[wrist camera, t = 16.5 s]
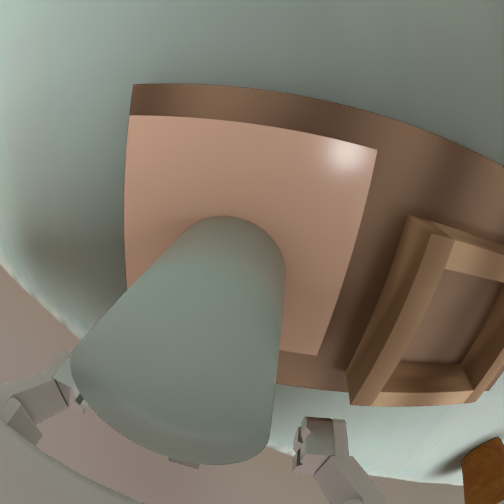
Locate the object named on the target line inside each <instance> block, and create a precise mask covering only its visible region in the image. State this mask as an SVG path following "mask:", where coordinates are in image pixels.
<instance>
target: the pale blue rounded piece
mask: <svg viewBox="0 0 504 504" xmlns="http://www.w3.org/2000/svg"><path fill="white" fill-rule="evenodd" d="M285 280H286V268H285V262H284V259H283V256H282V253H281V251H280V249H279V247H278V246H277V244H276V243H275V241H274V240H273V239H272V238H271V237H270V236H269V235H268V234H267V233H266V232H265V231H264V230H263V229H261V228H260V227H258V226H257V225H255V224H253V223H251V222H249V221H246V220H244V219H241V218H236V217H230V216H216V217H210V218H207V219H204V220H201V221H199V222H197V223H195V224H194V225H192V226H191V227H190V228H188V229H187V230H186V231H185V232H184V233H183V234H182V235H181V236H180V237H179V238H178V239H177V240H176V241H175V242H174V243H173V244H172V245H171V246H170V247H169V248H168V249H167V250H166V251H165V252H164V253H163V254H162V255H161V256H160V257H159V258H158V259H157V260H156V261H155V262H154V263H153V264H152V265H151V266H150V267H149V268H148V269H147V270H146V271H145V272H144V273H143V274H142V275H141V276H140V277H139V278H138V279H137V280H136V281H135V282H134V283H133V284H132V285H131V287H130V288H129V289H128V290H127V291H126V292H125V293H124V294H123V295H122V296H121V297H120V298H119V299H118V300H117V301H116V302H115V304H114V305H113V306H112V307H111V308H110V309H109V310H108V311H107V312H106V313H105V314H104V316H103V317H102V318H101V319H100V320H99V321H98V322H97V323H96V324H95V326H94V327H93V328H92V329H91V330H90V331H89V332H88V334H87V335H86V336H85V337H84V338H83V339H82V340H81V342H80V343H79V344H78V345H77V346H76V347H75V349H74V351H73V352H72V355H71V360H70V369H71V373H72V377H73V380H74V383H75V385H76V387H77V389H78V391H79V392H80V394H81V395H82V397H83V398H84V400H85V401H86V402H87V404H88V405H89V406H90V407H91V408H92V410H93V411H94V412H95V413H97V415H98V416H99V417H100V418H101V419H102V420H103V421H105V422H106V423H107V424H108V425H110V426H111V427H112V428H113V429H115V430H116V431H117V432H119V433H120V434H121V435H123V436H125V437H126V438H128V439H129V440H131V441H133V442H135V443H136V444H138V445H140V446H142V447H144V448H146V449H148V450H151V451H153V452H155V453H158V454H161V455H163V456H166V457H168V458H169V461H172V462H175V463H178V464H182V465H185V466H189V467H193V468H197V469H198V468H199V465H200V464H206V465H226V464H233V463H239V462H242V461H246V460H248V459H250V458H253V457H254V456H256V455H257V454H259V453H260V452H261V451H262V450H263V449H264V448H265V446H266V445H267V443H268V440H269V435H270V427H271V419H272V411H273V403H274V395H275V386H276V377H277V368H278V358H279V348H280V338H281V327H282V316H283V305H284V293H285Z"/></svg>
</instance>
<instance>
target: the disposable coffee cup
mask: <svg viewBox="0 0 504 504" xmlns="http://www.w3.org/2000/svg"><path fill="white" fill-rule="evenodd" d="M461 465H462V474H463V484H464V497H465V504H504V445H503V443H502V441H501V439H500V438H495V439H492V440H490V441H487V442H486V443H484V444H482V445H480V446H479V447H477V448H476V449H474V450H473V451H471V452H470V453H469V454H467V455H466V456H465V457H464V458H463V459H462V461H461Z"/></svg>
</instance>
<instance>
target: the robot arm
mask: <svg viewBox="0 0 504 504" xmlns="http://www.w3.org/2000/svg"><path fill="white" fill-rule="evenodd" d="M71 355H72V352H71V351H68V350H63V351H61V353H60V354H59V355H58V356H57V357H56V358H55V359H54V361H53V362H52V363H51V364H50V365H49V366H48V368H47V369H46V370H45V371H44V372H43V373H42V372H38V373H35V374H33V375H29V376H27V377H24V378H21V379H18V380H15V381H12V382H9V383H6V384H3V385H0V504H147V503H145V502H142V501H139V500H137V499H134V498H131V497H129V496H127V495H124V494H122V493H119V492H117V491H115V490H113V489H111V488H108V487H106V486H104V485H102V484H100V483H98V482H96V481H94V480H92V479H90V478H88V477H86V476H84V475H82V474H80V473H78V472H77V471H75V470H73V469H71V468H69V467H68V466H66V465H64V464H63V463H61V462H60V461H58V460H56V459H55V458H53V457H52V456H50V455H48V454H47V453H45V452H44V451H42V450H41V449H39V448H38V447H36V445H37V443H38V441H39V440H40V439H41V437H42V433H41V431H40V430H39V429H38V427H37V426H36V425H37V424H39V423H41V422H42V421H44V420H46V419H48V418H50V417H52V416H54V415H55V414H57V413H59V412H61V411H63V410H65V409H66V408H68V407H70V408H72V409H74V410H76V411H78V412H80V413H82V414H85V412H86V411H87V409H88V407H89V405H88V404H87V402H86V401H85V400H84V398H83V397H82V395H81V394H80V392H79V391H78V389H77V387H76V385H75V383H74V380H73V377H72V373H71V369H70V360H71ZM293 449H294V450H295V452H296V454H295V456H294V457H293V461H292V473H299V474H310V475H313V476H314V478H315V480H316V481H317V483H318V485H319V486H320V488H321V490H322V491H323V493H324V495H325V496H326V498H327V500H328V501H329V503H330V504H387V503H386V496H385V494H384V493H383V492H382V491H381V490H380V489H379V488H378V486H377V485H376V484H375V483H374V482H373V480H372V479H371V478H370V477H369V476H368V474H367V473H366V472H365V471H364V470H363V468H362V467H361V466H360V465H359V464H358V462H357V461H356V460H355V459H354V457H353V456H349V450H348V438H347V428H346V422H345V420H342V419H330V418H315V417H304V418H303V420H302V426H301V427H298V429H297V431H296V435H295V438H294V446H293Z"/></svg>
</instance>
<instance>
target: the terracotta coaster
mask: <svg viewBox="0 0 504 504" xmlns="http://www.w3.org/2000/svg"><path fill="white" fill-rule="evenodd" d="M376 155H377V150H376V149H372V148H369V147H365V146H361V145H357V144H354V143H350V142H346V141H341V140H337V139H333V138H329V137H324V136H319V135H315V134H310V133H305V132H300V131H294V130H289V129H283V128H277V127H271V126H264V125H258V124H251V123H243V122H235V121H226V120H216V119H205V118H192V117H175V116H143V115H129V125H128V135H127V147H126V162H125V185H124V243H125V265H126V281H127V290H128V289H129V288H130V287H131V285H132V284H133V283H134V282H135V281H136V280H137V279H138V278H139V277H140V276H141V275H142V274H143V273H144V272H145V271H146V270H147V269H148V268H149V267H150V266H151V265H152V264H153V263H154V262H155V261H156V260H157V259H158V258H159V257H160V256H161V255H162V254H163V253H164V252H165V251H166V250H167V249H168V248H169V247H170V246H171V245H172V244H173V243H174V242H175V241H176V240H177V239H178V238H179V237H180V236H181V235H182V234H183V233H184V232H185V231H186V230H187V229H188V228H190V227H191V226H192V225H194V224H195V223H197V222H199V221H201V220H204V219H207V218H210V217H216V216H230V217H236V218H241V219H244V220H246V221H249V222H251V223H253V224H255V225H257V226H258V227H260V228H261V229H263V230H264V231H265V232H266V233H267V234H268V235H269V236H270V237H271V238H272V239H273V240H274V241H275V243H276V244H277V246H278V247H279V249H280V251H281V253H282V256H283V259H284V262H285V268H286V280H285V293H284V305H283V316H282V327H281V338H280V348H279V350H283V351H289V352H295V353H301V354H308V355H315V356H317V354H318V351H319V348H320V346H321V343H322V341H323V338H324V335H325V333H326V330H327V327H328V325H329V322H330V319H331V316H332V313H333V311H334V308H335V305H336V302H337V299H338V296H339V293H340V290H341V287H342V284H343V281H344V278H345V275H346V271H347V268H348V265H349V262H350V258H351V255H352V252H353V248H354V245H355V241H356V238H357V234H358V230H359V227H360V223H361V219H362V215H363V212H364V208H365V204H366V200H367V195H368V191H369V187H370V183H371V178H372V174H373V169H374V164H375V160H376Z"/></svg>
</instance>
